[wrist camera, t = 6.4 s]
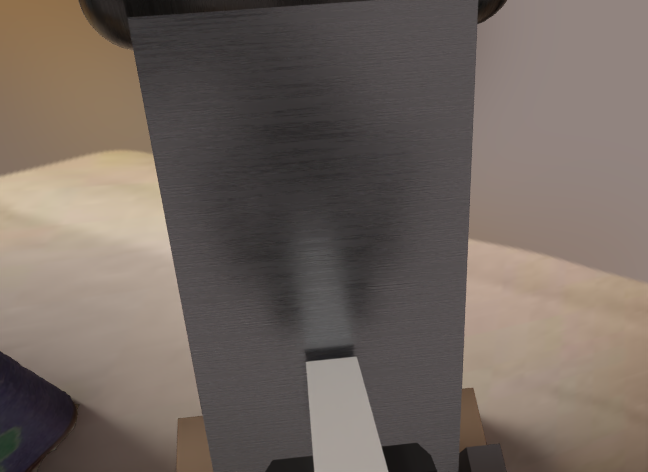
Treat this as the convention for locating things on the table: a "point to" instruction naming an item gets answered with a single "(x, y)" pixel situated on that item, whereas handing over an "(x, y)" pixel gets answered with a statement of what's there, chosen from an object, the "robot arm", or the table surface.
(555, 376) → the table surface
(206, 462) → the base
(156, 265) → the table surface
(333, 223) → the lever
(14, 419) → the flask
